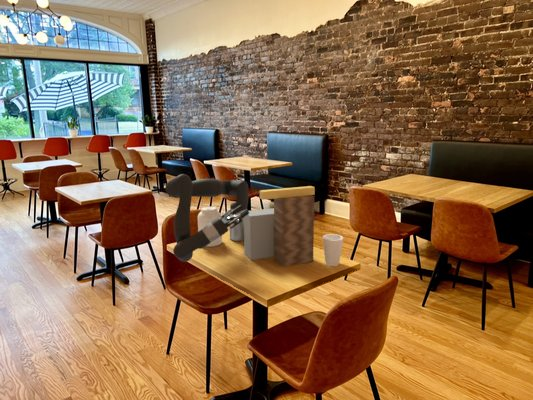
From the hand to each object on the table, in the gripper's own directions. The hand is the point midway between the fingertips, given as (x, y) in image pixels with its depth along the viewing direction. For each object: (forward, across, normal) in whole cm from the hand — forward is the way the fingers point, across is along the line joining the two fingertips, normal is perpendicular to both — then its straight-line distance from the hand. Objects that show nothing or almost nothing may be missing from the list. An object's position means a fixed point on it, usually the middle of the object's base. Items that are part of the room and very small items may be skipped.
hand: (245, 208), depth 177 cm
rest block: (-3, +13, +31) cm, 33 cm away
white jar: (-21, +40, +20) cm, 49 cm away
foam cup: (+20, -10, +44) cm, 49 cm away
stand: (+7, 0, +36) cm, 37 cm away
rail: (+20, 0, +7) cm, 21 cm away
